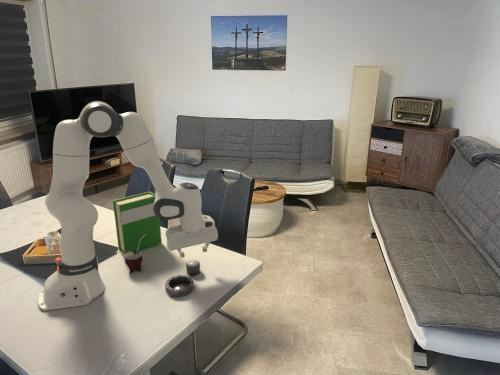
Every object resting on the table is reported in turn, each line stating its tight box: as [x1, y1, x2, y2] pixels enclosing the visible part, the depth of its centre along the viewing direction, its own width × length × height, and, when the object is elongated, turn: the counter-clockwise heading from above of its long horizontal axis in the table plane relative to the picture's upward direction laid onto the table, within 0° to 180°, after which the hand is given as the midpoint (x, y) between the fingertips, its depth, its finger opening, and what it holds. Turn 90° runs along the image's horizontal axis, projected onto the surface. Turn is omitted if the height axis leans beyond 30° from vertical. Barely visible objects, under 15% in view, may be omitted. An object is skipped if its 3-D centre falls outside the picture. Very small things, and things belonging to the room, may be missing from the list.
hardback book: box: [112, 190, 163, 255], centre depth 171 cm, size 18×7×24 cm, turn 131°
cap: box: [185, 259, 201, 277], centre depth 154 cm, size 6×6×4 cm
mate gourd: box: [124, 234, 146, 274], centre depth 154 cm, size 8×8×15 cm
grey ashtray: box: [164, 274, 195, 298], centre depth 144 cm, size 10×10×3 cm
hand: (193, 254), depth 153 cm, fingers open, 8 cm apart
